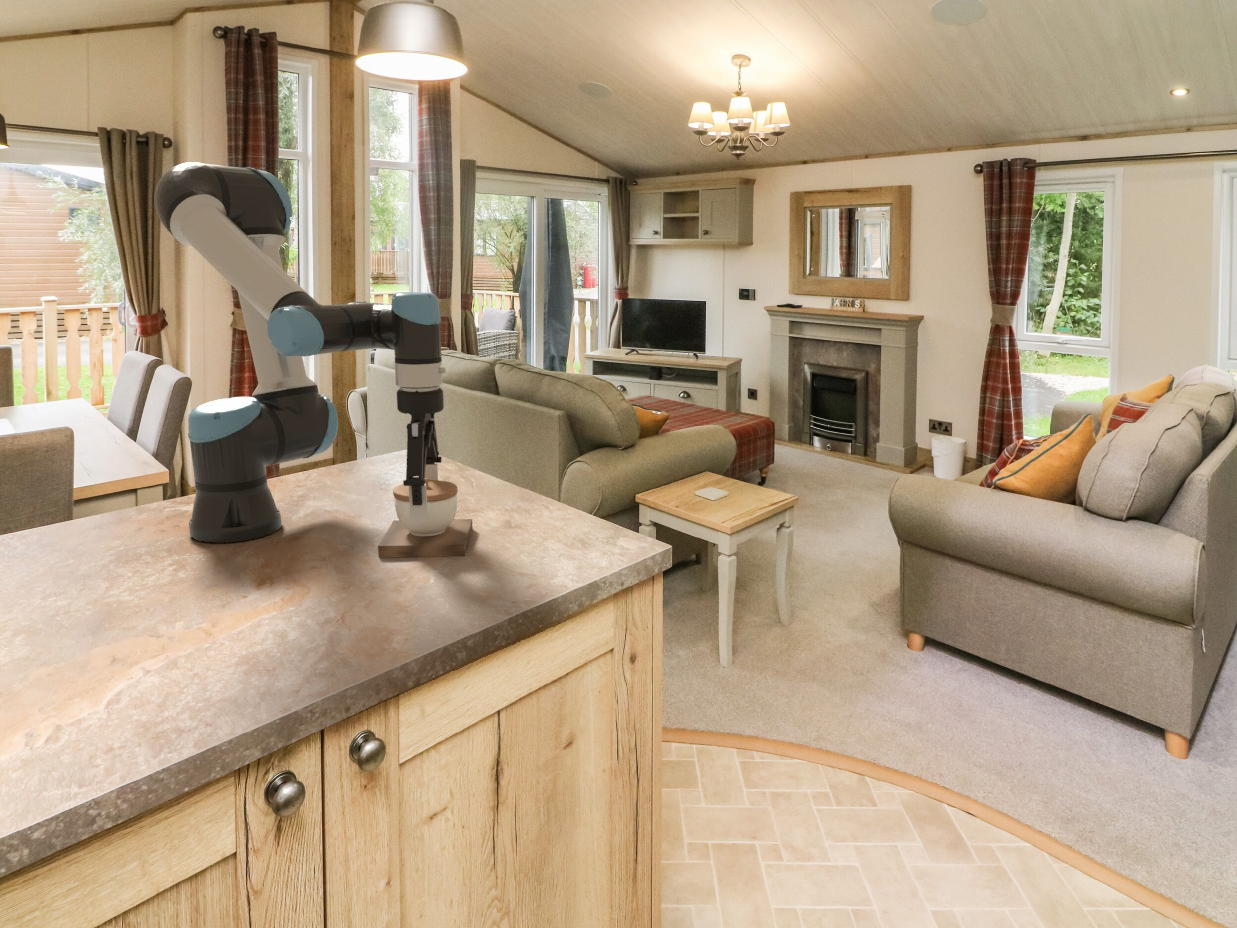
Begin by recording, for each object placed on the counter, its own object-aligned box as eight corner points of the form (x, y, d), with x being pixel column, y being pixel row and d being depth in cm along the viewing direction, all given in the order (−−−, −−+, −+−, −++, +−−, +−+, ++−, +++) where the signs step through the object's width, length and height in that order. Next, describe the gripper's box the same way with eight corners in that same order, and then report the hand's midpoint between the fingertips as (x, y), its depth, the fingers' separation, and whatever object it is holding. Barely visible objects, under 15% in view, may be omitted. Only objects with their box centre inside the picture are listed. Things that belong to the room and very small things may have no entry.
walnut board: (378, 557, 137) (377, 546, 136) (394, 530, 150) (393, 520, 150) (464, 555, 138) (464, 544, 137) (472, 529, 151) (472, 518, 151)
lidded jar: (445, 543, 138) (442, 488, 136) (384, 538, 140) (381, 484, 138) (468, 523, 148) (466, 472, 146) (411, 520, 150) (409, 469, 148)
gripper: (432, 400, 126) (437, 533, 131) (451, 377, 150) (455, 490, 155) (381, 400, 125) (389, 534, 130) (409, 377, 150) (414, 491, 155)
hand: (425, 510), depth 143 cm, fingers open, 13 cm apart
